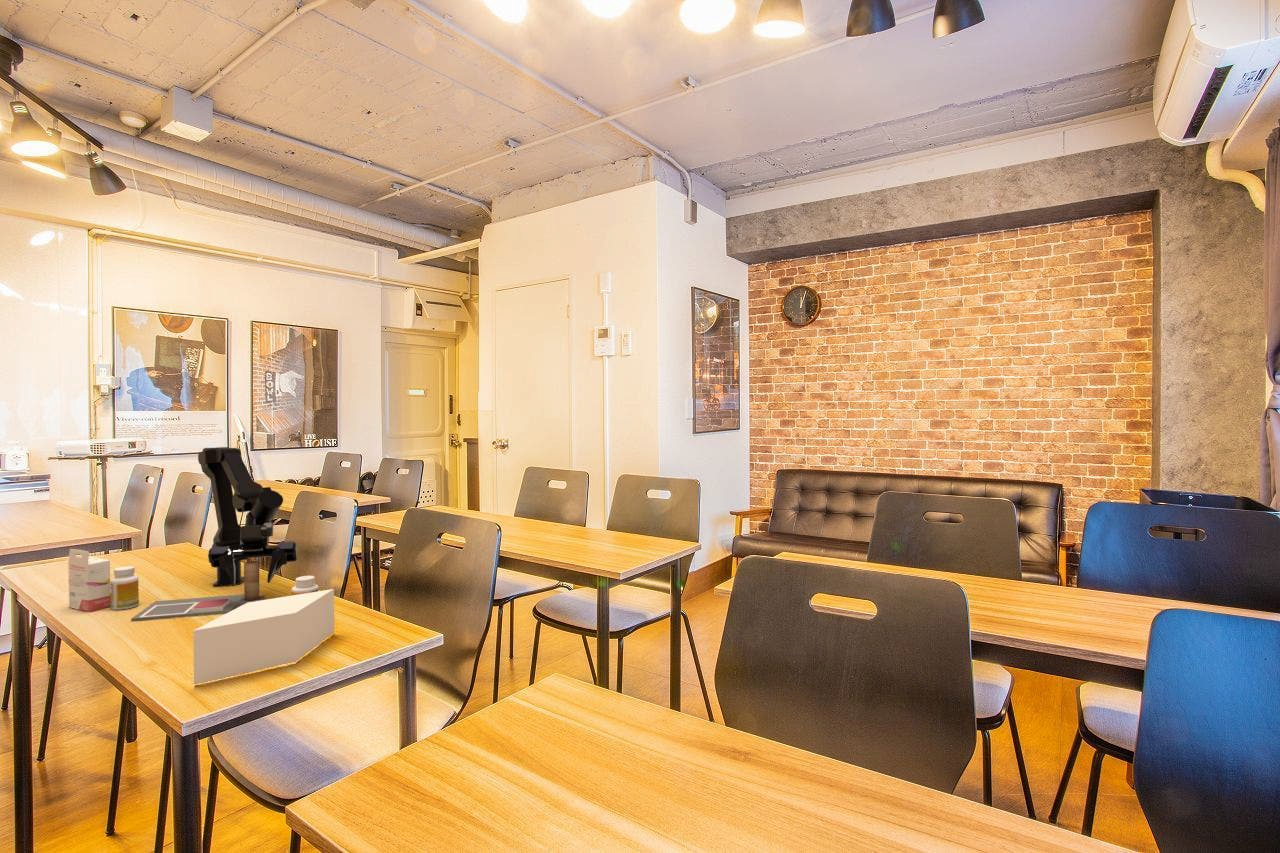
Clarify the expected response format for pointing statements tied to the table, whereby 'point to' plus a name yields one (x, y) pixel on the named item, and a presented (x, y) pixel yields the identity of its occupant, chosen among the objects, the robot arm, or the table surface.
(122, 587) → the supplement bottle
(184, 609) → the stamp board
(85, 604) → the ink cartridge box
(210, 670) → the cream slanted prism
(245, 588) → the stamp
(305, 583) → the supplement bottle
